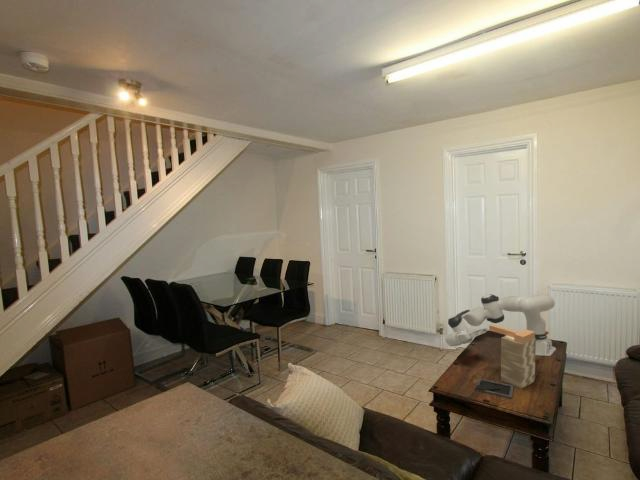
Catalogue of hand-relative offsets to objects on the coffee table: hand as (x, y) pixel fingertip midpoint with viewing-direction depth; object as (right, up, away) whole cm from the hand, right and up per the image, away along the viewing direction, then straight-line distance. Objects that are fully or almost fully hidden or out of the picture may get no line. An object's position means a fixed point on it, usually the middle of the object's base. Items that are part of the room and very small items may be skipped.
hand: (482, 331), depth 219 cm
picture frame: (-4, -27, -24) cm, 36 cm away
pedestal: (+13, -24, -16) cm, 32 cm away
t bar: (+9, +2, -14) cm, 17 cm away
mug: (+26, -23, -10) cm, 36 cm away
